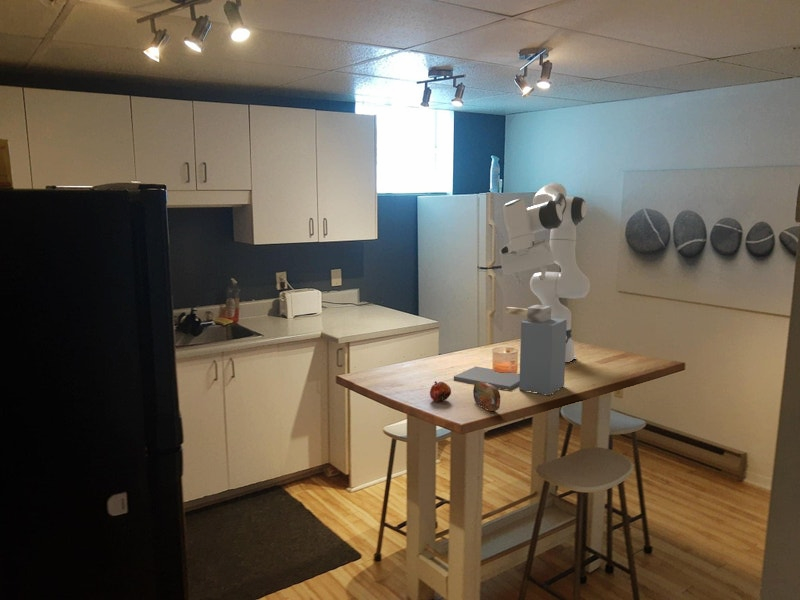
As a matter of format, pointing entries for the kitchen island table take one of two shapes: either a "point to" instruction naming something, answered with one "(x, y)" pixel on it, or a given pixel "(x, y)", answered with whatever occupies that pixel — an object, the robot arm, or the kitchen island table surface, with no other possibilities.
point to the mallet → (532, 312)
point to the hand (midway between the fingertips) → (531, 282)
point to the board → (489, 377)
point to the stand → (542, 355)
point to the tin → (486, 396)
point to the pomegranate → (440, 391)
